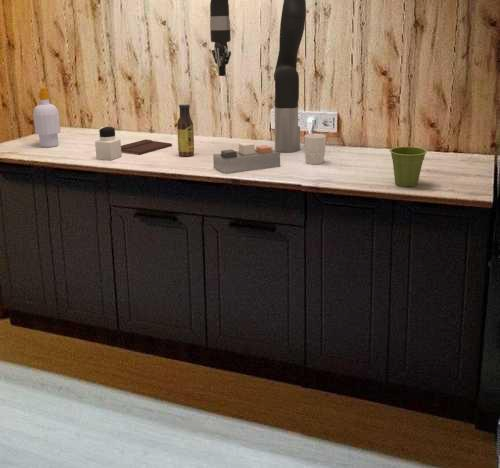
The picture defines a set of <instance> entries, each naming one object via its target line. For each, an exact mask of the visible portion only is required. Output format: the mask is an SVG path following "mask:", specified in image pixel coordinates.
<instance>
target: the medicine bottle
mask: <svg viewBox="0 0 500 468" xmlns="http://www.w3.org/2000/svg"><path fill="white" fill-rule="evenodd" d="M98 134H99V135H98V137H99V139H97V140H95V142H94V143H95V145H94V146H95V156H96V159H97V160H103V161H113V160H116V159H119V158H122V154H123V153H122V152H121V146H122V142H121V139H120V138H116V128H115V127H113V126H102V127H100V128H99V129H98Z"/></svg>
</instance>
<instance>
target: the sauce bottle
mask: <svg viewBox="0 0 500 468" xmlns="http://www.w3.org/2000/svg"><path fill="white" fill-rule="evenodd" d="M190 106H191V105H190V104H189V103H180V104H179V105H178V109H179V118H178V119H177V123H176V124H177V125H176V126H177V150H178V155H179V156H180V157H191V156H194V155H195V140H194V139H195V136H194V133H195V132H194V123H193V119H192V118H191V114H190V108H191V107H190Z"/></svg>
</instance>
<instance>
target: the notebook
mask: <svg viewBox="0 0 500 468" xmlns="http://www.w3.org/2000/svg"><path fill="white" fill-rule="evenodd" d="M172 146H173V143H171V142H164V141H156V140H151V139H147V138H146V139H142V140H138V141H134V142H131V143H127V144H126V143H125V144H123V145H122V144H121V154H123V153H124V154H128V155H137V156H141V155H145V154H148V153H153V152H155V151H160V150H163V149H167V148H169V147H170V148H171V147H172Z"/></svg>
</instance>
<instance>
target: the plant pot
mask: <svg viewBox="0 0 500 468" xmlns="http://www.w3.org/2000/svg"><path fill="white" fill-rule="evenodd" d="M389 152H390V153H391V159H392V165H393V166H392V167H393V175H394V184H395V185H397V186H399V187H400V186H401V187H403V186H405V187H408V186H409V187H415V185H416V186H417V185H418V183H419V180H420V175H421V172H422V171H421V170H422V167H423V162H424V159H425V157H426V156H425V155H426V154H427V153H428V150H427V149H425V148H421V147H417V146H397V147H393V148H392V147H391V148H390V149H389Z"/></svg>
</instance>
